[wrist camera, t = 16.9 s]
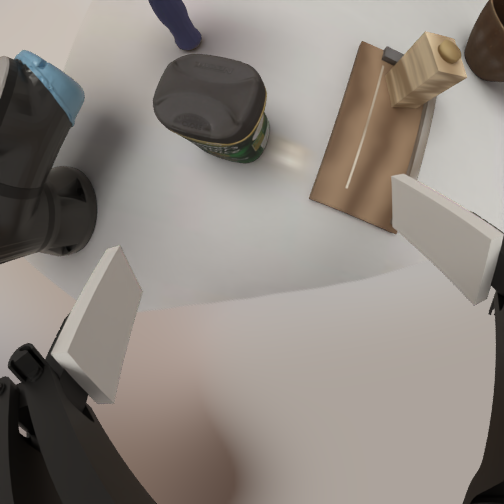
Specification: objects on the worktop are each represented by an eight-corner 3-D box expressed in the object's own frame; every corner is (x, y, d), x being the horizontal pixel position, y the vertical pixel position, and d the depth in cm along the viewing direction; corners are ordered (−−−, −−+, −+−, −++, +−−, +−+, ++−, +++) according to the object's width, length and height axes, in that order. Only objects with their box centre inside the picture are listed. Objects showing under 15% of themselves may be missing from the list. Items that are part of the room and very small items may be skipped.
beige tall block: (391, 106, 33) (443, 67, 18) (385, 75, 32) (429, 26, 17) (415, 108, 33) (472, 74, 18) (408, 78, 32) (458, 34, 17)
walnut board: (308, 198, 39) (311, 198, 35) (359, 46, 34) (364, 36, 30) (390, 232, 38) (400, 235, 35) (431, 83, 33) (441, 76, 30)
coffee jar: (193, 151, 39) (131, 120, 21) (211, 101, 37) (166, 40, 19) (258, 171, 39) (242, 147, 20) (276, 119, 37) (275, 59, 19)
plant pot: (441, 63, 32) (491, 25, 17) (452, 17, 29) (491, -21, 14) (500, 114, 32) (557, 97, 17) (507, 63, 29) (552, 41, 14)
